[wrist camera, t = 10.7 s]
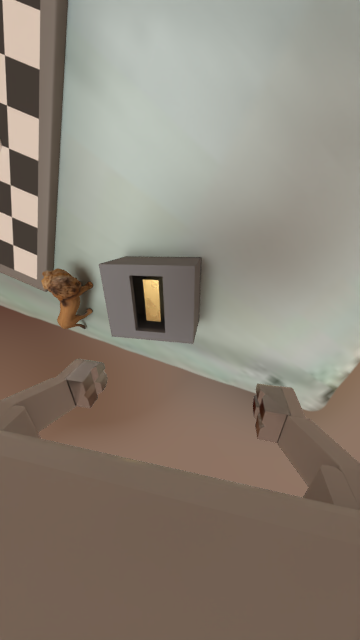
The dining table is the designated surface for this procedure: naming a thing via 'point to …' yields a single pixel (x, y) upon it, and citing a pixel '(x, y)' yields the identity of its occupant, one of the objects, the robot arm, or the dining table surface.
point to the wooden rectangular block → (154, 298)
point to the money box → (129, 301)
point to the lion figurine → (66, 296)
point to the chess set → (30, 134)
